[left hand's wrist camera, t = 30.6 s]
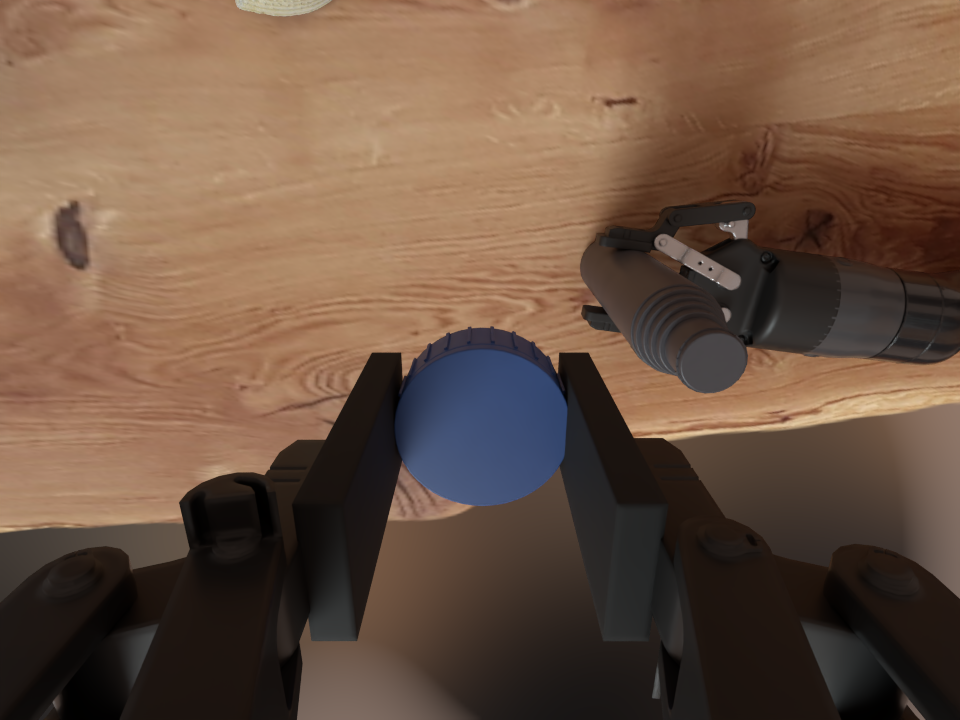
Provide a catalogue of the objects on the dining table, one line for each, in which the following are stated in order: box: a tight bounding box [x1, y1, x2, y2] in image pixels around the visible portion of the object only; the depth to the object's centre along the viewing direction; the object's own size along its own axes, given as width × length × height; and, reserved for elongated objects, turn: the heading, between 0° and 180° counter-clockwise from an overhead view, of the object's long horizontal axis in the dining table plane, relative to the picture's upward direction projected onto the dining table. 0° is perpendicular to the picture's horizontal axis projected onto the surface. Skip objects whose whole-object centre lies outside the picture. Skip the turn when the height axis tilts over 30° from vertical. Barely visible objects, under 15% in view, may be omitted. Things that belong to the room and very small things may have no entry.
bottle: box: [580, 242, 748, 393], centre depth 36 cm, size 5×5×24 cm
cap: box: [394, 326, 568, 506], centre depth 14 cm, size 4×4×2 cm
